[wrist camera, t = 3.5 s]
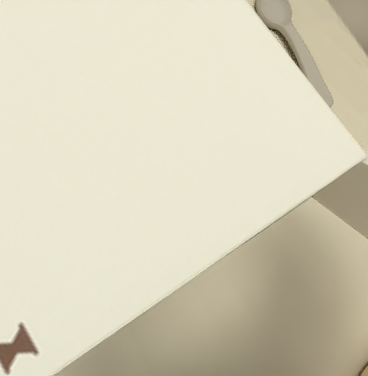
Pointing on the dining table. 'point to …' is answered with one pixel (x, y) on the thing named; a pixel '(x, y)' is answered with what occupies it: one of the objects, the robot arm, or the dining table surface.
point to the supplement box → (140, 159)
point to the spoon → (293, 41)
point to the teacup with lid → (365, 372)
